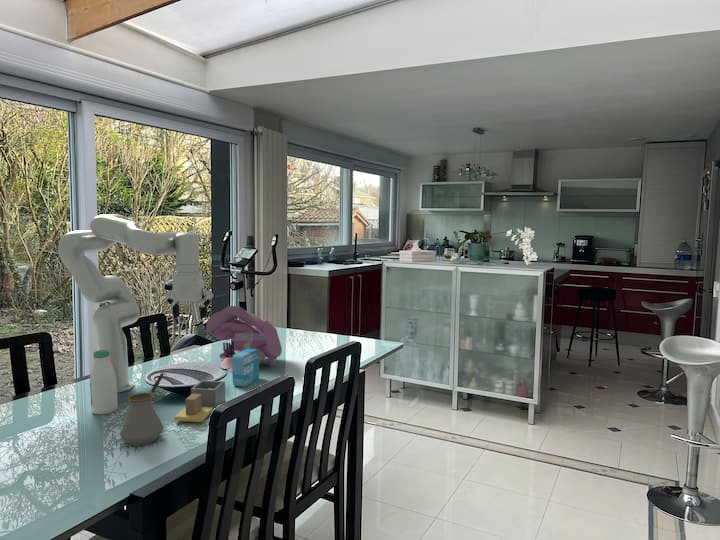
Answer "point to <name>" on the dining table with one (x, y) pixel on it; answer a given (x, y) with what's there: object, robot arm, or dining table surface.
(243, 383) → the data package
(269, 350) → the pink curved piece
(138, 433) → the coffee pot
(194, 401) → the lid
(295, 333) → the dining table surface
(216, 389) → the box
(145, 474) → the dining table surface
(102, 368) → the milk bottle
